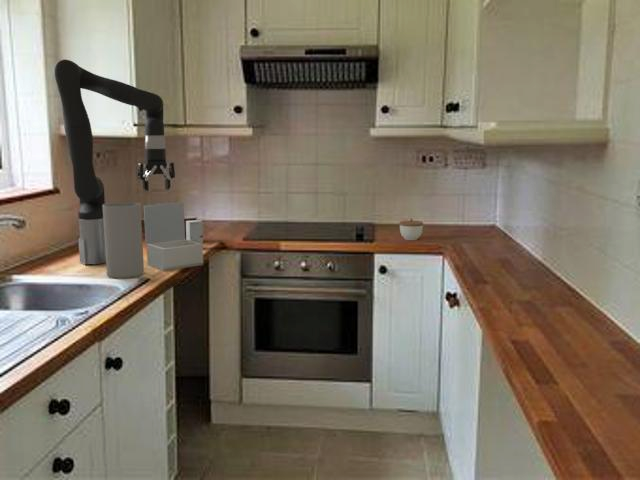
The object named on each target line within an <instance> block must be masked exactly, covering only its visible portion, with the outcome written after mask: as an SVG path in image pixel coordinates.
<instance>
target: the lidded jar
mask: <svg viewBox="0 0 640 480" xmlns="http://www.w3.org/2000/svg"><path fill="white" fill-rule="evenodd" d="M398 224H399V232H400V234H401V236H402V238H403V239H404V240H406V241H416V240H419V239H418V238H420V237H421V236H422V233H423V227H424V222H423V221H422V220H421V221H420V220H413V218H410V219H409V220H402V221H401V220H400V221H399V223H398Z"/></svg>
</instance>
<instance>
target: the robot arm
mask: <svg viewBox="0 0 640 480" xmlns="http://www.w3.org/2000/svg"><path fill="white" fill-rule="evenodd" d="M52 74H53V77H54V81H55V83H56V87H57V92H58V93H59V97H60V104H61V112H62V122H63V127H64V132H65V139H66V143H67V147H68V153H69V156H70V161H71V164H72V171H73V172H72V174H73V188H74V192H75V194H76V196H77V197H78V198H79V209H78V213H77V214H78V226H79V227H78V229H79V238H78V241H77V242H78V254H79V263H80V262H82V263H84V264H93V265H101V263H102V264H105V263H106V251H105V236H104V220H103V204H106V202H105V199H106V198H105V187H104V186H105V185H104V183H103V181H102V180H101V179H100V177H98V176H96V171H95V168H94V163H93V153H94V152H93V151H94V150H93V149H94V139H93V138H94V136H93V131H92V126H91V122H90V117H89V115H88V112H87V109H86V107H85V103H84V100H83V96H82V90H87V91H91V92H94V93H97V94H99V95H101V96H104V97H106V98H109V99H111V100H114V101H115V102H116V101H117V102H120V103H123V104H125V105H128V106H133V107H136V108H139V109H141V110H144V113H145V114H144V115H145V122H144V123H145V125H144V135H145V137H144V148H145V149H144V150H145V151H144V152H145V153H144V154H145V163H141V162H139V163H137V179H138V180H141V181H142V188H143V190H144V191H145V192H148V191H149V189H150V188H149V181H148V180H149V179H150V178H151V176H152V175H162V176H163V177H164V179H165V180H164V189H165V190H170V189H171V180H172V179H175V177H176V173H175V172H176V171H175V163H174V162H172V161H170V162H167V152H166V139H165V125H164V100H163V99H162V97H161V96H160V95H158V94H156V93H154V92H150V91H147V90H144V89H140V88H138V87H136V86H134V85H130V84H128V83H126V82H125V83H124V82H122V81H118V80H115V79H111V78H108V77H104V76H101V75H97V74H96V73H93V72H91V71H89V70H87V69H85V68H83V67H81V66H79V64H77V62H74V61H72V60H71V59H61V60H58V61H57V62H56V63H55V64H54V67H53V73H52ZM167 168H168V171H167V170H166V169H167ZM145 169H147V170H146V171H144V170H145ZM82 263H81V264H82ZM84 264H83V265H84Z"/></svg>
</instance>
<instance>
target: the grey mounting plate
mask: <svg viewBox="0 0 640 480" xmlns="http://www.w3.org/2000/svg"><path fill="white" fill-rule="evenodd" d="M184 204H185V203H184V202H183V201H182V202H172V203H163V202H155V203H153V204H148V205H143V216H144V217H143V218H144V237H145V245H146V244H150V243H158V242H166V241H174V240H182V239H185V226H184V217H185V207H184V206H185V205H184Z"/></svg>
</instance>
